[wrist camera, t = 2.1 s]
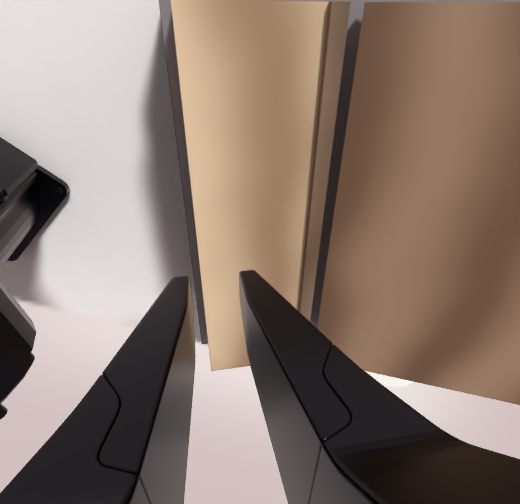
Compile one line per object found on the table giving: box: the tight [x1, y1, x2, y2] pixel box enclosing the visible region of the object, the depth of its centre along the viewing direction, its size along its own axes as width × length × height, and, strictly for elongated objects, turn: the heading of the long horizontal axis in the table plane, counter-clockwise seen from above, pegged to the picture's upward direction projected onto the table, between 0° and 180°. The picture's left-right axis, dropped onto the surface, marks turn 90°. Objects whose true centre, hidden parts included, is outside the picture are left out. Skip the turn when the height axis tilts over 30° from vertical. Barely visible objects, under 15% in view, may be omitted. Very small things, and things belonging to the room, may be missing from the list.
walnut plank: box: [317, 2, 520, 405], centre depth 15 cm, size 12×17×2 cm
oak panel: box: [171, 0, 351, 371], centre depth 16 cm, size 5×17×3 cm, turn 0°
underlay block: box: [159, 0, 520, 344], centre depth 20 cm, size 19×18×5 cm
